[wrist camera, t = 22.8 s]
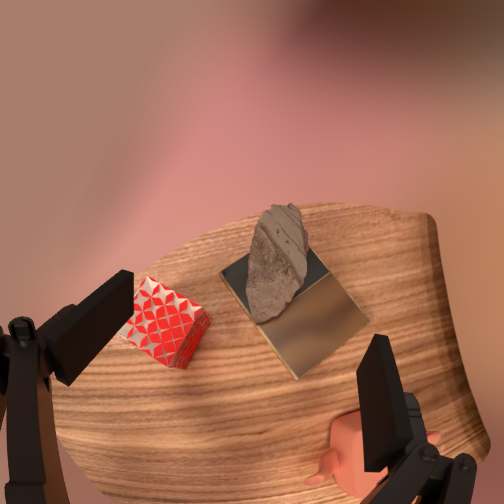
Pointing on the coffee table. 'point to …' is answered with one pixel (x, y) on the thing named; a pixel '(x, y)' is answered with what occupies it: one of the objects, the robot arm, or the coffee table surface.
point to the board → (304, 315)
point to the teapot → (351, 458)
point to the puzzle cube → (165, 324)
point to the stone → (276, 262)
